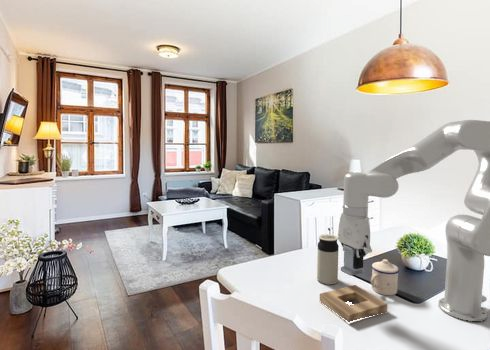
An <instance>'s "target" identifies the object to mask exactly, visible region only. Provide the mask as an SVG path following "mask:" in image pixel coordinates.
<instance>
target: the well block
mask: <svg viewBox="0 0 490 350" xmlns="http://www.w3.org/2000/svg"><path fill="white" fill-rule="evenodd" d="M320 301H321V302H322V303H323V304H324V305H326V306H327V307H328V308H330V309H331V310H333V311H334V312H335V313H337V314H338V315H339V316H341V317H342V318H344V319H345V320H347V321H348V322H350V321H353V320H357V319H360V318H365V317H369V316H373V315H377V314H381V313H384V314H386V313H385V312H387V313H388V303H387V302H386V301H383V300H382V299H380V298H378V297H377V296H375V295H373V294H371V293H370V292H369V291H366V290H365V289H363V288H361V287H360V286H358V285H356V284H354V285H353V284H352V285H349V286H345V287H342V288H337V289H333V290H329V291H325V292H321V293H319V302H320ZM347 301H349V302H352V304H354V305H350V306H349V305H348V304H346V303H345V302H347ZM322 303H321V304H322ZM323 304H322V305H323ZM324 305H323V306H324ZM327 307H326V308H327ZM328 308H327V309H328ZM381 315H382V314H381Z"/></svg>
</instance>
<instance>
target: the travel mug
mask: <svg viewBox="0 0 490 350" xmlns="http://www.w3.org/2000/svg"><path fill="white" fill-rule="evenodd" d="M318 239H319V241H318V243H317V261H316V262H317V263H316V267H317V268H316V269H317V270H316V275H317V276H316V280H317V279H318V280H319V281H320V283H321V282H322V284H324V283H325V284H324V285H335V284H336V283H338V281H339V279H338V278H339V243H338V241H339V240H338V235H334V234H330V233H329V234H328V233H327V234H326V233H325V234H319V235H318ZM318 280H317V281H318ZM319 281H318V282H319Z"/></svg>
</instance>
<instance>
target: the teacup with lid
mask: <svg viewBox="0 0 490 350" xmlns="http://www.w3.org/2000/svg"><path fill="white" fill-rule="evenodd" d="M371 269H372V271H371V278H370V284H371V290H373V292H375V293H376V294H380V295H383V296H394V295H396V294H397V293H398V283H399V281H398V280H399V277H398V276H399V272H400V270H399V267H398V265H395V264H392V263H391V262H389V260H388V259H387V258H386V259H385V258H383V259H382V261H376V262H373V263H372V264H371Z"/></svg>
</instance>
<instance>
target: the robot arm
mask: <svg viewBox="0 0 490 350" xmlns="http://www.w3.org/2000/svg"><path fill="white" fill-rule="evenodd" d="M459 150H464V151H465V150H466V151H467V150H470V151H472V150H473V151H474V153H475V155H476V157H477V161H478V165H477V171H476V172H475V175H474V177H473V179H472V181H471V184H470V185H469V188H468V189H467V192H466V194H465V197H464V205H465V207H466V208H467V209H468V210H469V211H471V212H473V213H475V214H479V215H481V216H482V217H481V218H479V217H475V216H473V215H470V214H469V215H468V214H457V215H453V216H451V217H450V218H449V219H448V221H447V223H445V238H446V245H447V246H446V247H447V249H446V250H447V255H446V256H447V257H446V268H445V283H444V284H445V285H444V286H445V287H444V297H442V298H440V299H439V300H438V303H437V304H438V307H439V308H440V310H441V311H442V312H444V313H445V314H448V315H449V316H452V317H453V318H456V319H458V318H459V319H458V320H462V319H463V320H462V321H466V320H468V321H467V322H472V321H481V322H484V321H486V320H487V318H488V314H487V312H486V310H485V309H483V308H482V303H484V302H486V301H487V300H488V299H487V296H485V295H483V288H484V287H483V286H484V285H483V284H484V273H485V272H484V271H485V256H486V257H490V121H487V120H481V119H466V120H460V121H459V120H458V121H451V122H448V123H445V124H443V125H442V126H439V128H437V129H436V130H434V131H432V132H431V133H430V134H428V135H427V136H425V137H424V138H422V139H421V140H419V141H418V142H416V143H415V144H413V145H412V146H410V147H409V148H407V149H405V150H403V151H401V152H399V153H397V154H396V155H393V156H391V157H390V158H388V159H386V160H384V161H381V163H378V165H376V166H375V167H373V168H372V169H370V170H369V171H367V172H366V173H361V172H349V173H346V174H345V175H344V177H343V178H344V179H343V200H342V213H341V215H340V218H339V224H338V231H337V237H338V240H337V241H338V242H339V243H340V244H341V247H342V251H343V252H344V250H345V247H343V244H346V245H348V246H350V247H352V248H355V250H356V257H355V262H354V268H355V269H360V268H363V269H364V257H366V256H367V255H368V254H371V253H372V252H373V249H372V246H371V225H370V218H369V217H368V216H369V215H368V214H369V197H375V198H376V197H377V198H381V199H383V198H384V199H385V198H386V199H387V198H390V197H393V196H394V195H396V193H397V192H398V191H399V182H398V180H397V179H399V178H401V177H403V176H407V175H409V174H414V173H415V174H416V173H420V172H424V171H426V170H429V169H431V168H432V167H434V166H436V165H437V164H439V163H440V162H441V161H444V160H445V159H446V158H448V157H449V156H452V155H453V154H454V153H456V152H457V151H459ZM359 249H361V252H360V250H359ZM483 320H484V321H483Z"/></svg>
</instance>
